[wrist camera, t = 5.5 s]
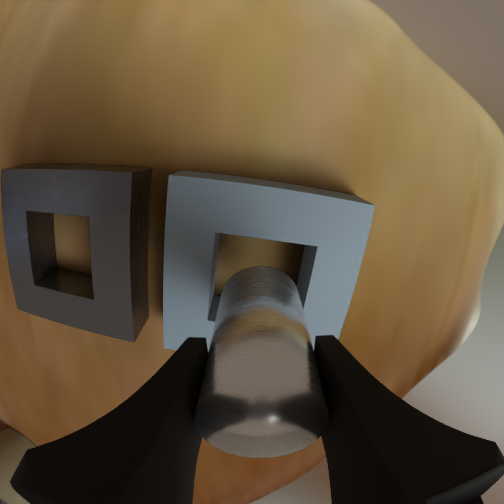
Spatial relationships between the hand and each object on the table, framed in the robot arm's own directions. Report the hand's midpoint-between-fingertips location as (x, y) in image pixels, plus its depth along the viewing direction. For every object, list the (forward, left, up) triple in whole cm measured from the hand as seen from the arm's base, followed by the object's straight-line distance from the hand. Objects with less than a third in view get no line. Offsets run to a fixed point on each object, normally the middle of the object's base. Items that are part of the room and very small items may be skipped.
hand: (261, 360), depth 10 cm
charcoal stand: (-8, -9, -9) cm, 15 cm away
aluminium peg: (0, 0, -4) cm, 4 cm away
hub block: (0, 0, -9) cm, 9 cm away
